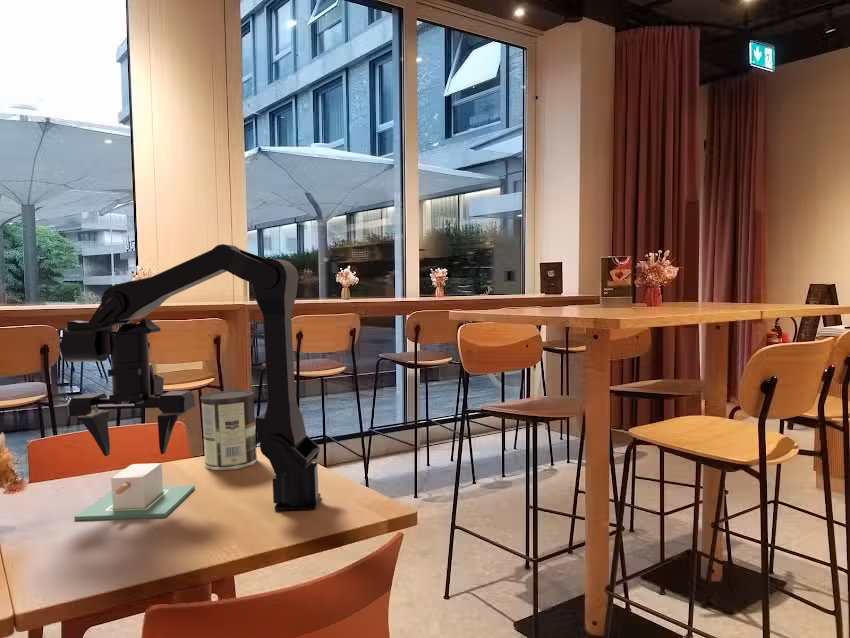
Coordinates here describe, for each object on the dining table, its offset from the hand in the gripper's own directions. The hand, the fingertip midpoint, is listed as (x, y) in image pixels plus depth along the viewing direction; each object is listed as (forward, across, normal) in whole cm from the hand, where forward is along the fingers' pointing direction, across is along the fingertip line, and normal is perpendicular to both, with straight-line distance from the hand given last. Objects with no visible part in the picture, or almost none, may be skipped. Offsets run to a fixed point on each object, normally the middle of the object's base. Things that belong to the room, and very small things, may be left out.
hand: (135, 454), depth 108 cm
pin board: (+8, 0, 0) cm, 8 cm away
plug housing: (+8, 0, +2) cm, 8 cm away
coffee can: (+8, -9, -23) cm, 26 cm away
